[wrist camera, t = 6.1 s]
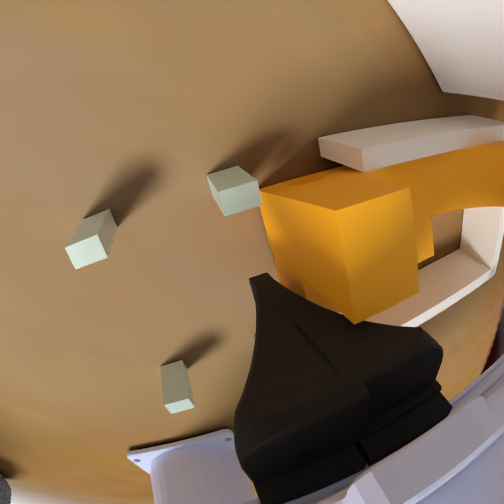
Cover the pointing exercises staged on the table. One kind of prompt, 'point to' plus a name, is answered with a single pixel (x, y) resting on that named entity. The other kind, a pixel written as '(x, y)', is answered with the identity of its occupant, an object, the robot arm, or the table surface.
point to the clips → (234, 190)
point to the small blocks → (97, 248)
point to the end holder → (474, 219)
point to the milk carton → (459, 42)
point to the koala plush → (4, 491)
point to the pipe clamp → (372, 225)
